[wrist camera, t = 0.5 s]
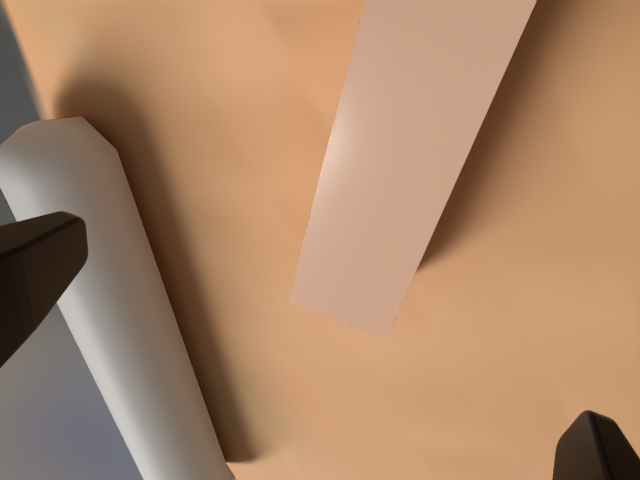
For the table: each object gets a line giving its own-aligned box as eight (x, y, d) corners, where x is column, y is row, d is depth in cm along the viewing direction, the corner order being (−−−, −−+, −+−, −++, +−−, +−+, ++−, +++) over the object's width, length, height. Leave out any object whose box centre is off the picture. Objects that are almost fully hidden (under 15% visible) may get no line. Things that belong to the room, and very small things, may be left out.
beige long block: (599, -181, 13) (625, -199, 10) (403, 276, 23) (385, 339, 20) (448, -221, 14) (428, -250, 11) (318, 244, 23) (287, 301, 20)
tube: (-58, 136, 21) (135, 503, 34) (5, 154, 18) (189, 548, 31) (62, 95, 24) (195, 442, 37) (132, 105, 22) (250, 477, 35)
